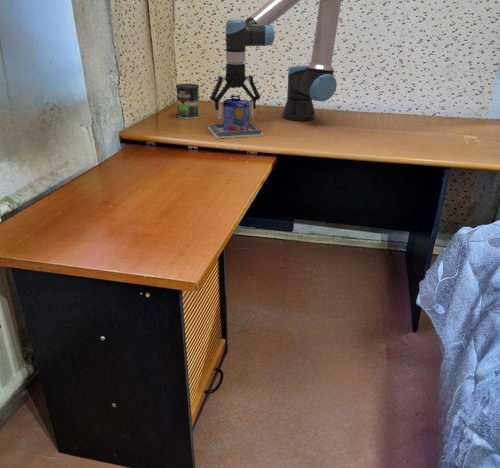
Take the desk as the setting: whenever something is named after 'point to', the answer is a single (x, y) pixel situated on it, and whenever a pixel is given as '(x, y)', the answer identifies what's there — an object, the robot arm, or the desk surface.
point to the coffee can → (188, 101)
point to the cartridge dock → (220, 133)
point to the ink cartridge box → (235, 114)
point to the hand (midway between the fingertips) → (235, 117)
